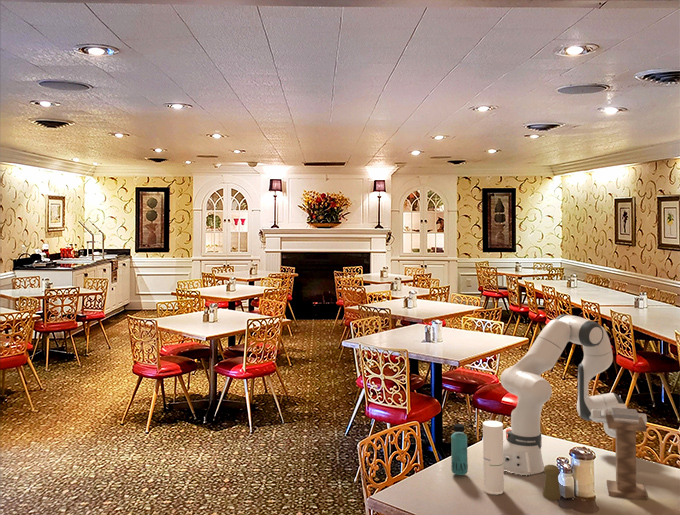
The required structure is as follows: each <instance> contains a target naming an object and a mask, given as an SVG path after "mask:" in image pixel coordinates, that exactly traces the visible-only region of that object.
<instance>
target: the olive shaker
mask: <svg viewBox="0 0 680 515" xmlns="http://www.w3.org/2000/svg"><path fill="white" fill-rule="evenodd" d="M543 472H544V474H545V477H544V485H543V492H542V496H543V498H545V499H547V500H550V501H560V500H561V499H560V497H561V498H562V495H561V490H560V482H559V476H560V468H559V467H558V466H557V465H555V464H547V465H544V471H543Z"/></svg>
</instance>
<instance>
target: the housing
mask: <svg viewBox="0 0 680 515" xmlns="http://www.w3.org/2000/svg"><path fill="white" fill-rule="evenodd" d="M638 413H639V412H638V410H637V409H636V408H634V409H633V408H628V406H627V404H626V403H624V404H620V403H617V408H612V417H613V421H614V422H617V423H629V424H639V415H638Z"/></svg>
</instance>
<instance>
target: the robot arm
mask: <svg viewBox="0 0 680 515" xmlns="http://www.w3.org/2000/svg"><path fill="white" fill-rule="evenodd" d="M610 341H611V340H610V338H609V335H608V332H607V330H606V329H605V327H603V326H602V325H600V324H599V323H598V322H596V321H594V320H590V319H586V318H585V317H581V316H577V315H571V314H565V313H564V314H560V315H558V316H556V318H553V319H551V320H550V321H548V323H547V324H546V325H545V326H544V327H543V328H542V330H541V331H540V333H539V334H538V336H537V337H536V339H535V340H534V342H533V343H532V345H531V346H530V348H529V349H528V351H527V352H526V353H525V355H523V357H522V358H520V359H519V360H518V361H517V362H516V363H515V364H514V365H511V366H510V367H507V368H505V369H504V370H503V371H502V373H501V374H500V378H499V379H500V381H499V382H500V384H501V386H502V387H503V388H504V389H505V390H506V391H507V392H508V393H509V394H511V395H514V396H516V397H517V404H516V407H515V408H514V409H512V411H511V412H510V413H511V414H510V418H511V419H510V421H511V422H510V424H511V425H510V426H511V428H506V429H505V440H503V463H504V470H507V471H510V472H513V473H517V474H521V475H520V476H522V475H526V476H525V477H528V476H527V475H529V476H531V475H537V474H540V473H543V472H544V467H545V465H544V461H543V455H542V444H543V441H542V438H543V437H542V433H541V413H542V409H543V406H544V405H545V403H546V402H548V401H549V400H550V399H551V396H552V393H553V389H552V385H551V383H550V382H549V381H548V380H547V379H546V378H544V377H543V376H541V375H542V374H543V373H546V372H547V371H550V370H551V369H553V368H554V367H555V365H556V363H557V362H558V360H559V358H560V357H561V355H562V353H563V351H564V349H565V348H566V346H567V344H568V343H570V342H571V343H573V344H576V345H581V346H582V351H583V359H582V360H581V362H580V363H579V364H578V367H577V379H576V380H577V381H576V382H577V387H576V388H577V390H576V391H577V396H576V397H577V398H576V411H577V413H578V416H579V417H580V418H581V419H582V420H584V421H587V422H590V421H592V422H594V423H602V424H603V430H604V432H605V434H606V435H607V436H609V437H611V438H613V439H616V429H609V428H608V425H607V421H606V414H609V415H612V408H617V403H620V404H625V403H624V401H623V399H622V398H621V396H619V395H618V394H616V393H615V392H608V393H601V394H596V395H589V383H590V381H591V380H592V379H593V378H594V377H596V376H597V375H599V374H601V373H603V372H605V371H606V370H608V369H609V368H610V366H611V365H612V363H613V361H614V360H613V358H614V356H613V349H612V344H611V342H610ZM637 413H638V415H639V417H642V419H643V421H644V423H645V425H647V423H648V418H647V414H646V413H642V412H641V413H639V412H637ZM517 474H516V475H517ZM530 474H531V475H530Z"/></svg>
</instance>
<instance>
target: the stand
mask: <svg viewBox="0 0 680 515" xmlns="http://www.w3.org/2000/svg"><path fill="white" fill-rule="evenodd" d="M606 421H607V425H608V428H609V429H616V438H615V480H610V479H606V489H607V493H608V496H609V497H611V496H612V497H620V498H626V499H636V500H641V501H642V500H643V501H647V500H648V499H647V498H648V495H647V492H646V490H645V487H644V484H643V483H637V432H643V433H644V432H645V433H647V430H648V428H647V426H646V425H647V424H646V425H645V423H644V421H643V419H642V417H639V424H629V423H617V422H614V421H613V417H612V415H609V414H606Z"/></svg>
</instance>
